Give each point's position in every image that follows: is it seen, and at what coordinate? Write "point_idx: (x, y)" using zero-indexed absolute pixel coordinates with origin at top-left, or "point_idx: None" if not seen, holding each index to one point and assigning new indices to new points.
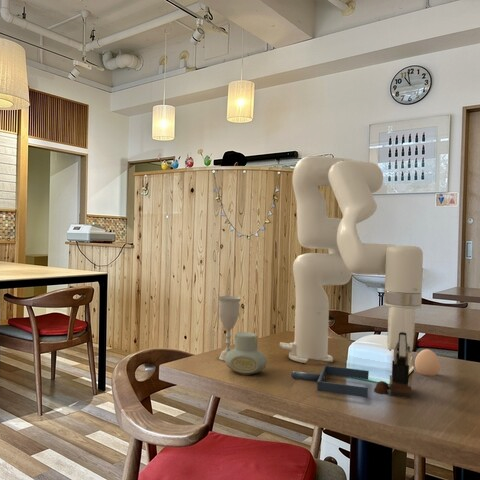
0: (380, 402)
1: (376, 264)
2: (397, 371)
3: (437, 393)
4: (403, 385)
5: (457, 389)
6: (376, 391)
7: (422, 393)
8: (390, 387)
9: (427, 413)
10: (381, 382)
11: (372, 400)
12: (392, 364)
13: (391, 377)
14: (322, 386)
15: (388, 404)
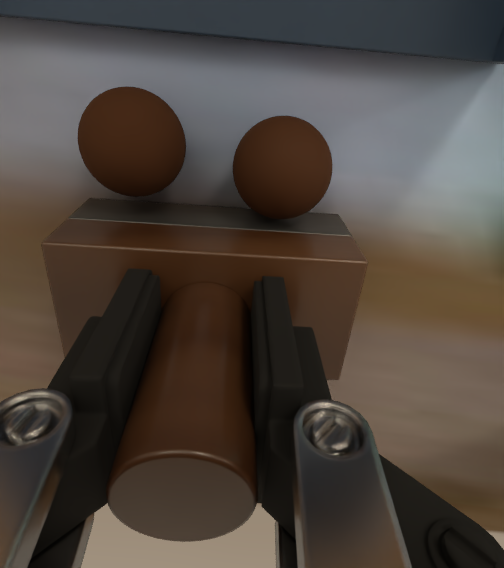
0: (37, 123)
1: None
2: (67, 360)
3: (387, 425)
4: (65, 328)
5: (475, 491)
6: (90, 104)
7: (365, 372)
8: (121, 227)
9: (8, 351)
10: (265, 169)
11: (48, 63)
12: (268, 352)
13: (280, 268)
14: None
15: (27, 175)
